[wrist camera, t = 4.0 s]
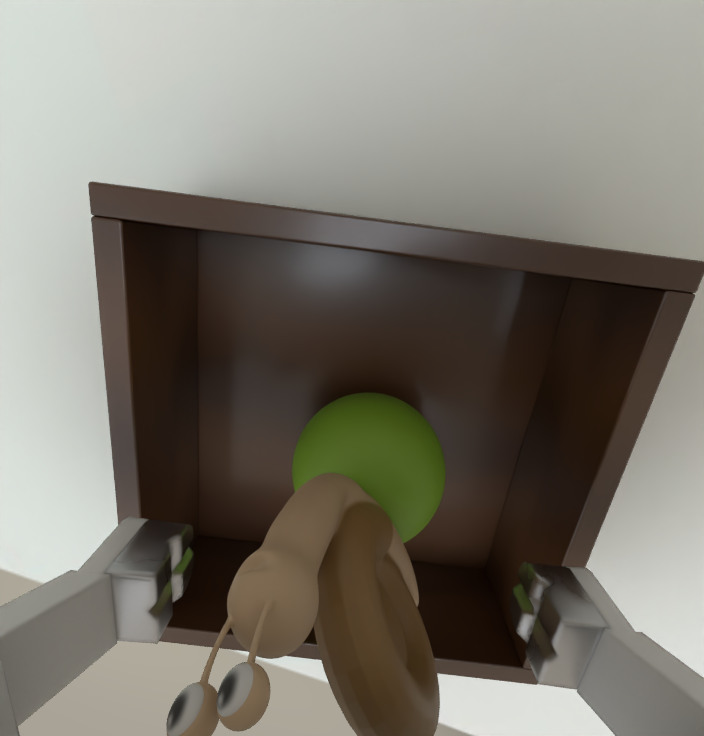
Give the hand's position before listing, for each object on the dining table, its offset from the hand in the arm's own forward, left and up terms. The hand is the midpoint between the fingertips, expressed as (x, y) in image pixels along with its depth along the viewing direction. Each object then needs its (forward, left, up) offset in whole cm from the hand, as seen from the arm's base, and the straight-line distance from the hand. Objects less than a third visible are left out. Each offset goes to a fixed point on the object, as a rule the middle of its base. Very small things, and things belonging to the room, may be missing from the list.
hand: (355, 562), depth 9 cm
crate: (0, 0, -8) cm, 8 cm away
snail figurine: (0, 0, -7) cm, 7 cm away
